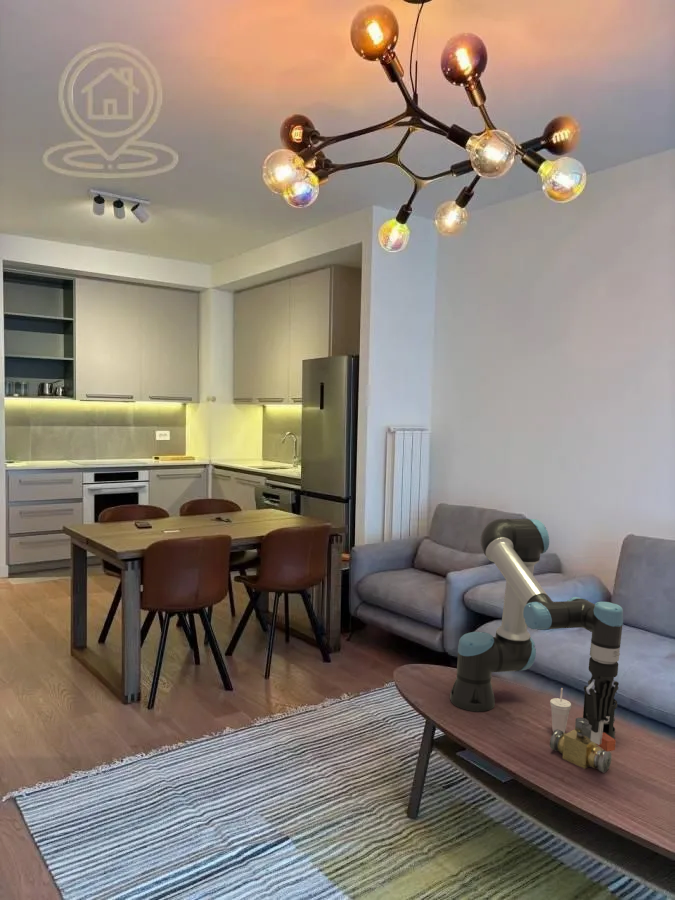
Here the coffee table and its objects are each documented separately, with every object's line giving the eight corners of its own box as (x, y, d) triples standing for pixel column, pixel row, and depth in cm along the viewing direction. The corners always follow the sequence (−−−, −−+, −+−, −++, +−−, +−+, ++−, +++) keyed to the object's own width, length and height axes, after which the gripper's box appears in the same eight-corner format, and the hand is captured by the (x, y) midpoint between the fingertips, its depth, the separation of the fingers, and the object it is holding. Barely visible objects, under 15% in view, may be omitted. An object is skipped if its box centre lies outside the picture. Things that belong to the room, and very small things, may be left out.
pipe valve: (548, 752, 201) (550, 723, 200) (560, 745, 205) (562, 718, 204) (600, 775, 189) (602, 745, 188) (610, 768, 193) (613, 739, 192)
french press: (623, 742, 209) (629, 670, 207) (601, 747, 205) (606, 673, 204) (594, 725, 220) (600, 656, 218) (572, 729, 216) (578, 659, 214)
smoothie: (570, 730, 215) (573, 687, 214) (568, 738, 210) (571, 695, 209) (549, 725, 218) (552, 683, 217) (546, 733, 212) (549, 690, 211)
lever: (572, 729, 197) (573, 718, 197) (582, 727, 198) (582, 716, 198) (605, 751, 185) (606, 740, 185) (615, 749, 186) (616, 738, 186)
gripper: (602, 667, 179) (593, 753, 181) (629, 660, 187) (621, 743, 188) (578, 658, 186) (570, 741, 187) (605, 651, 193) (598, 731, 194)
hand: (595, 742), depth 187 cm, fingers closed
